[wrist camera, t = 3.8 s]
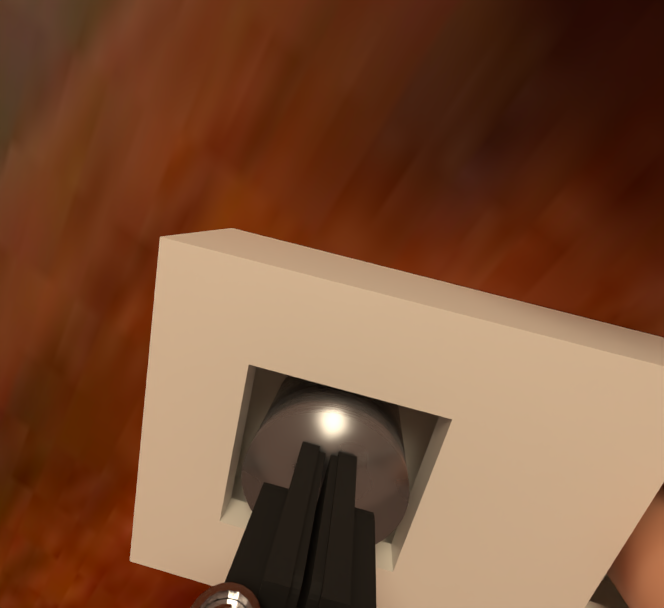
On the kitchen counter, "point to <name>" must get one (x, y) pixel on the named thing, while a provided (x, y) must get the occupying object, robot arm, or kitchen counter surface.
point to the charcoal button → (333, 446)
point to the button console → (402, 420)
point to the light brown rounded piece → (643, 560)
